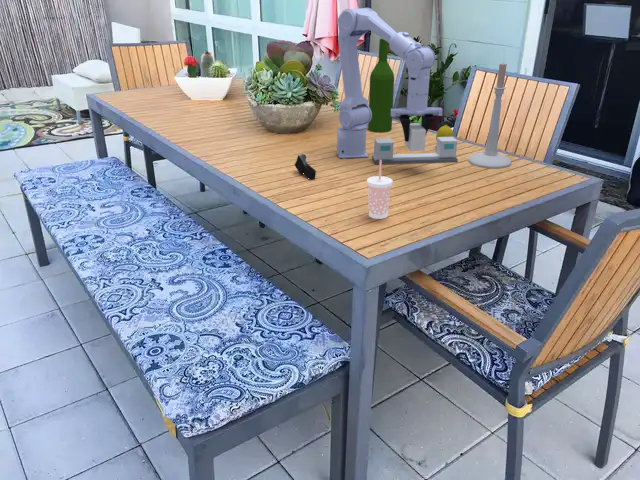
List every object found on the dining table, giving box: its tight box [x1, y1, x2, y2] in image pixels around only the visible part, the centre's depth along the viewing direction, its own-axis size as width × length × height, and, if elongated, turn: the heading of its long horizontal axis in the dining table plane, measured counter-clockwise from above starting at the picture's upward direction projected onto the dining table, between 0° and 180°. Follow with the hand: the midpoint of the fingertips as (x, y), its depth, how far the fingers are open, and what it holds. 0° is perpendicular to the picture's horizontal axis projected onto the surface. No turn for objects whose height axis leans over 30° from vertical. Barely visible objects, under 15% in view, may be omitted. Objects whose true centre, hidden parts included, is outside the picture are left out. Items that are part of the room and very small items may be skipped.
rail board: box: [371, 136, 458, 165], centre depth 168 cm, size 26×6×7 cm, turn 94°
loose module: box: [404, 122, 427, 152], centre depth 156 cm, size 4×8×6 cm, turn 5°
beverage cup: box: [366, 160, 394, 220], centre depth 127 cm, size 6×6×14 cm
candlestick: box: [468, 63, 512, 170], centre depth 161 cm, size 13×13×30 cm
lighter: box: [294, 153, 317, 180], centre depth 156 cm, size 9×2×6 cm
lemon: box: [435, 124, 454, 141], centre depth 179 cm, size 6×6×8 cm
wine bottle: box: [367, 38, 395, 133], centre depth 197 cm, size 9×9×32 cm
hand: (414, 140), depth 156 cm, fingers closed on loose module, 4 cm apart
